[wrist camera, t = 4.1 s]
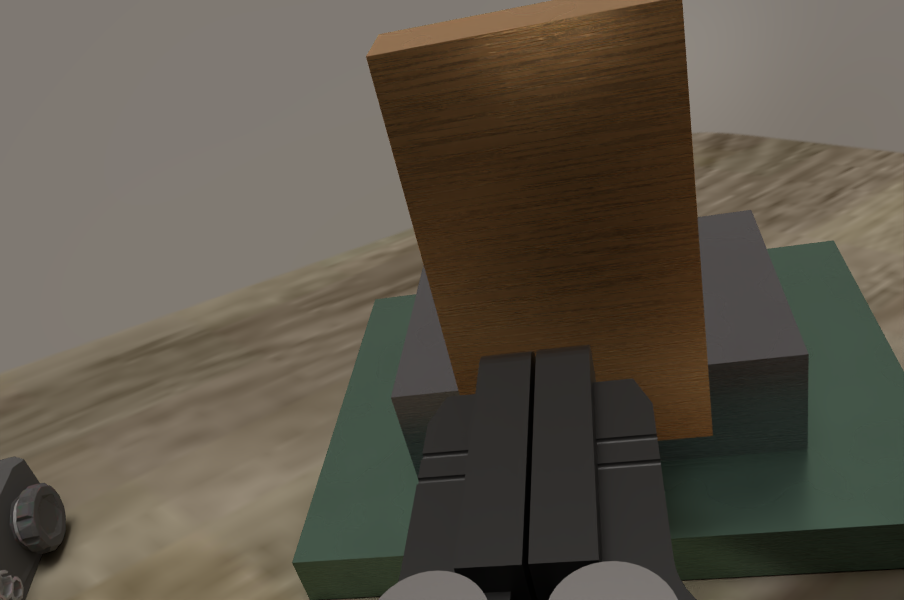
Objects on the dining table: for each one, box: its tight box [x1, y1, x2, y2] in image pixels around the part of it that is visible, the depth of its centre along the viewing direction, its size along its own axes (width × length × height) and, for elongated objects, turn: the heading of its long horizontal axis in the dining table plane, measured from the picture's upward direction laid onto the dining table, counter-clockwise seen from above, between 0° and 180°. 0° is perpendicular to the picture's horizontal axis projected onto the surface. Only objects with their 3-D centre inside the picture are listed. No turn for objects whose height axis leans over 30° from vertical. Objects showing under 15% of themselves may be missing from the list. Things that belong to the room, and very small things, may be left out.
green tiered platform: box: [292, 210, 904, 600], centre depth 24 cm, size 16×12×7 cm
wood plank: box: [366, 0, 713, 441], centre depth 19 cm, size 5×8×9 cm, turn 174°
